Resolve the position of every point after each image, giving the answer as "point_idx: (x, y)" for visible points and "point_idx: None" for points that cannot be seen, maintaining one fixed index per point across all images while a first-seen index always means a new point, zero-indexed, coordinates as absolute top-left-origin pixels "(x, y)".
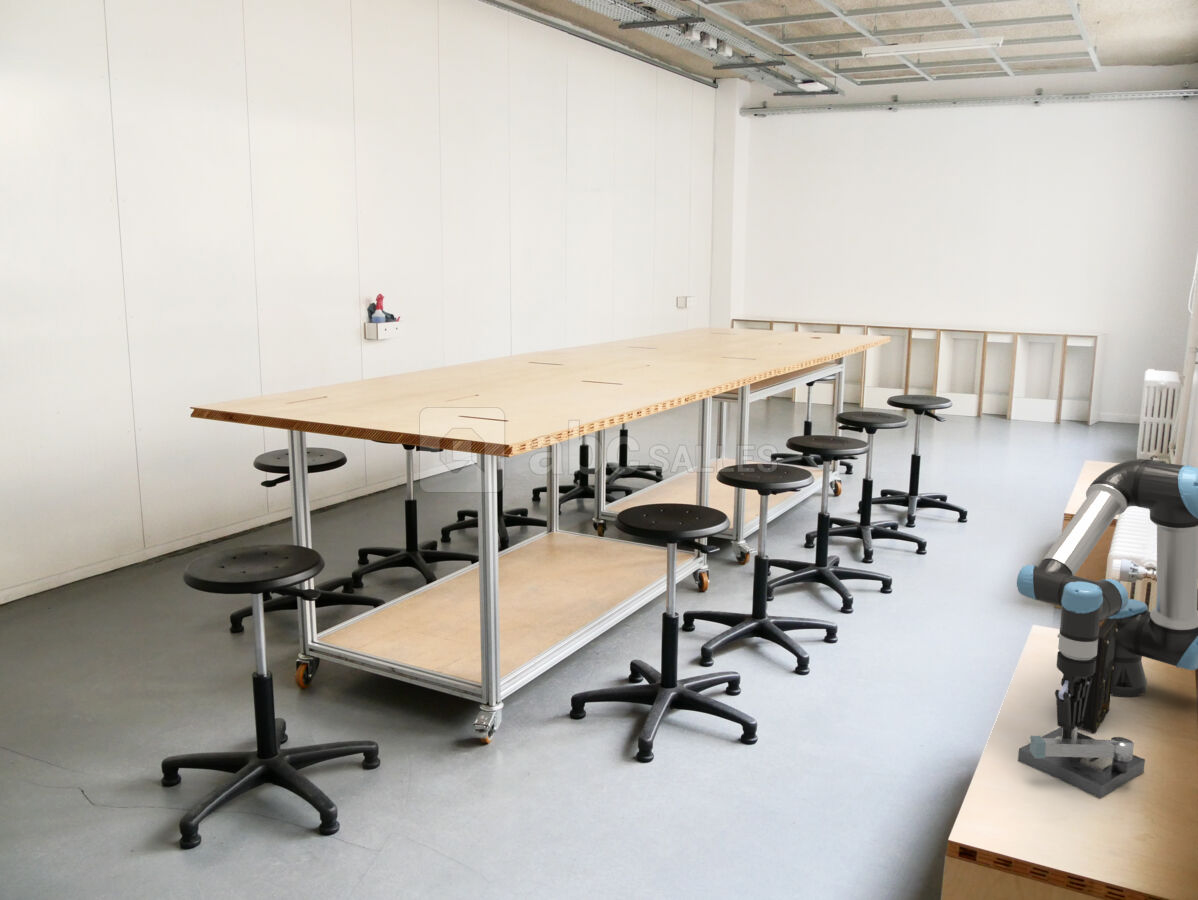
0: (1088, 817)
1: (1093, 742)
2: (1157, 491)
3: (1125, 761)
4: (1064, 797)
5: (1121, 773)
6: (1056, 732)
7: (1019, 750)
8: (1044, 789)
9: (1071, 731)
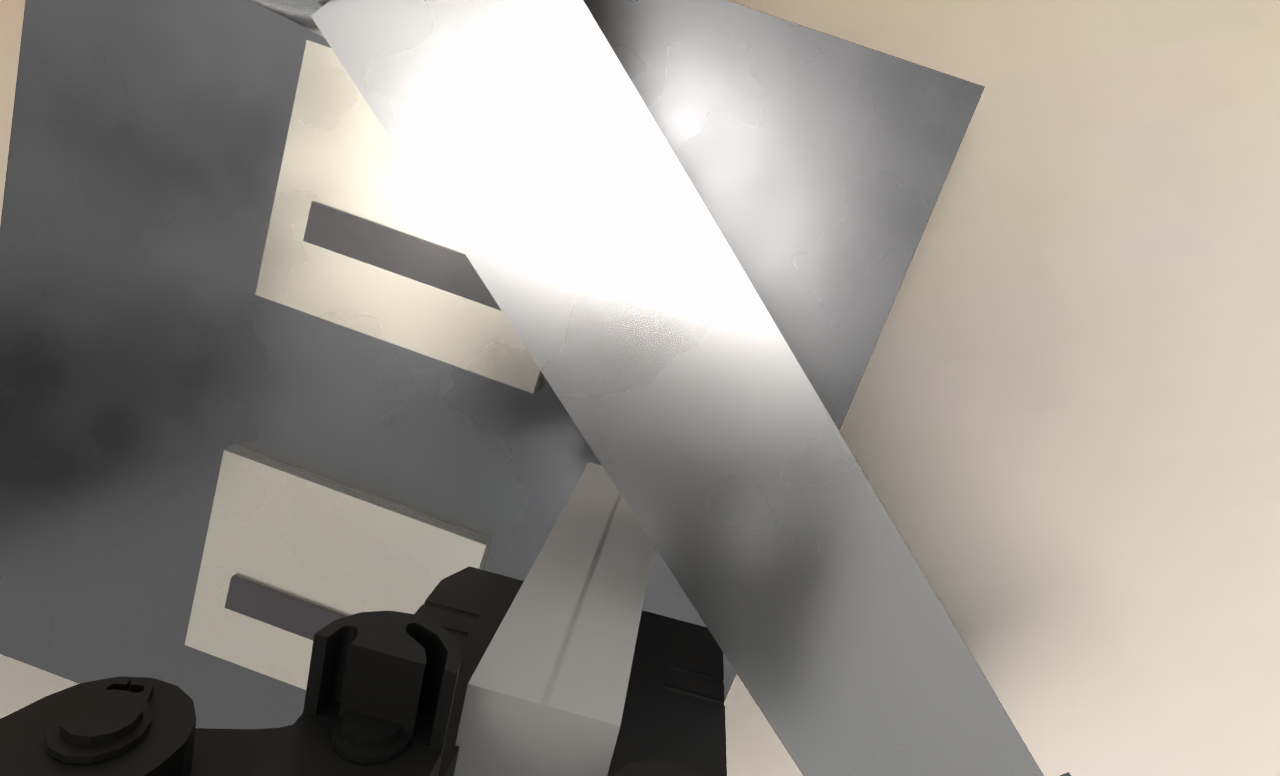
0: None
1: (633, 284)
2: None
3: None
4: (1083, 398)
5: None
6: (114, 664)
7: None
8: (1024, 561)
9: (627, 738)
